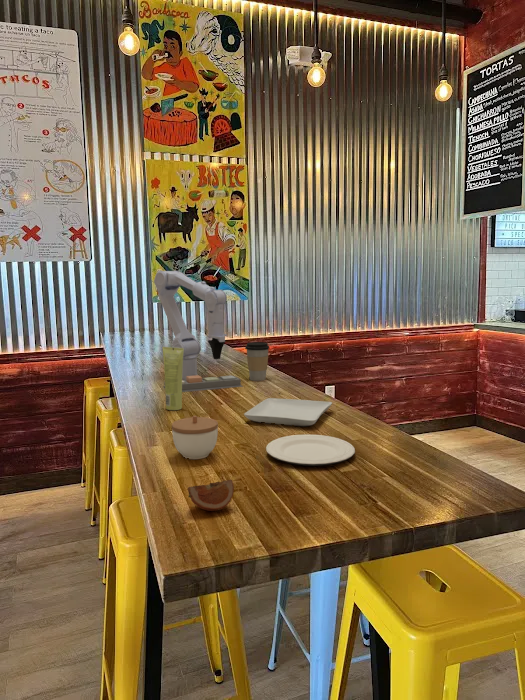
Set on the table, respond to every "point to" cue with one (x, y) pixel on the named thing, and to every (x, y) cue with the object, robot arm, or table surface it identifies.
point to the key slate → (227, 377)
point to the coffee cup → (257, 360)
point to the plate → (310, 450)
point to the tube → (173, 377)
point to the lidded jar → (195, 436)
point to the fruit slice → (212, 495)
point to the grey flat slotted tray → (210, 385)
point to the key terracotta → (193, 379)
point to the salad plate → (288, 411)
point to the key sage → (210, 379)
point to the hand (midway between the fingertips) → (216, 358)
